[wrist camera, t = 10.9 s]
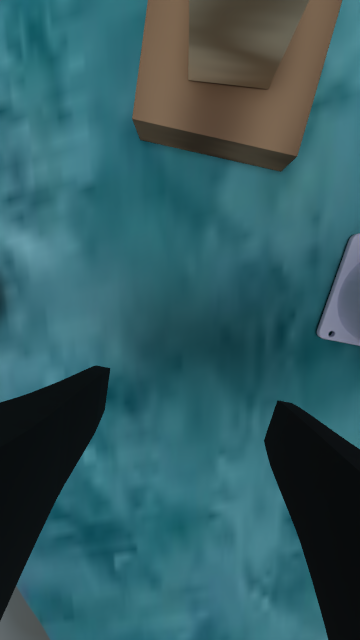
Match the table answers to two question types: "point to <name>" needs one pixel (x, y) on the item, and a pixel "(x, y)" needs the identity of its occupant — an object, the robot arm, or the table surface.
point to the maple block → (240, 39)
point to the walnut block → (228, 91)
